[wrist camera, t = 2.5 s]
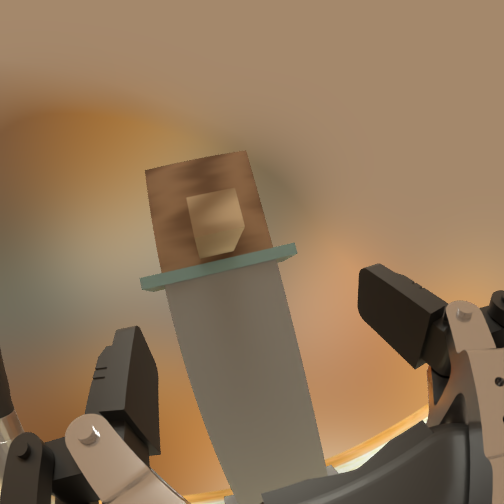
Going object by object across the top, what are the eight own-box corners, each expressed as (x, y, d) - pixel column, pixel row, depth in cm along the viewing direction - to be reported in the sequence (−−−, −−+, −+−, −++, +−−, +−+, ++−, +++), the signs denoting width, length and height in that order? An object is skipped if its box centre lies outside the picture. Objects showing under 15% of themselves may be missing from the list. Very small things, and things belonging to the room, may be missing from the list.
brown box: (137, 259, 15) (123, 121, 16) (169, 277, 28) (153, 188, 29) (302, 222, 17) (260, 97, 18) (263, 256, 29) (240, 170, 31)
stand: (232, 529, 18) (139, 278, 22) (228, 505, 23) (151, 282, 27) (348, 493, 21) (294, 242, 25) (332, 474, 26) (280, 252, 30)
